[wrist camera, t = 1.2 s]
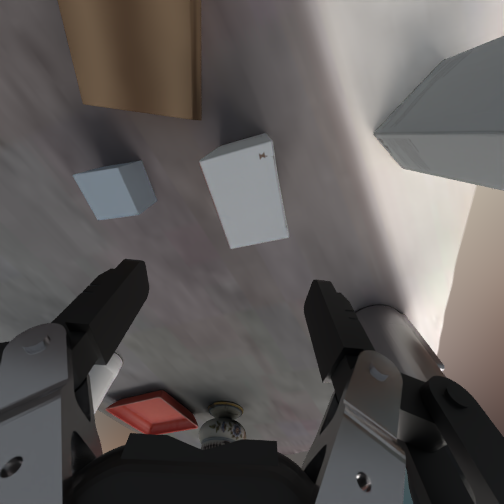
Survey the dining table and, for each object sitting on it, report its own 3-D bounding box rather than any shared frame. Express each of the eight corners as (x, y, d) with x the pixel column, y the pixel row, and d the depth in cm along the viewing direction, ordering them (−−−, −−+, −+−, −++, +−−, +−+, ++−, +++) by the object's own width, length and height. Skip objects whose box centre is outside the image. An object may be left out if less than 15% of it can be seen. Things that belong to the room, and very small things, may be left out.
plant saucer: (110, 396, 57) (103, 410, 54) (164, 383, 53) (159, 398, 50) (153, 423, 65) (148, 436, 62) (202, 413, 61) (199, 428, 58)
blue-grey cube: (141, 160, 25) (117, 167, 21) (157, 200, 28) (138, 214, 23) (103, 166, 26) (72, 175, 21) (122, 205, 28) (98, 220, 24)
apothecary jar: (218, 394, 54) (203, 501, 39) (255, 408, 57) (254, 512, 42) (196, 410, 59) (174, 511, 44) (231, 422, 63) (222, 519, 47)
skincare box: (400, 168, 25) (550, 215, 12) (368, 131, 23) (507, 140, 10) (476, 99, 21) (805, 63, 8) (447, 49, 19) (811, -95, 7)
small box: (219, 145, 24) (195, 158, 15) (267, 131, 23) (272, 136, 14) (238, 210, 28) (228, 251, 19) (279, 201, 27) (290, 239, 18)
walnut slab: (201, -55, 17) (187, -101, 13) (202, 120, 23) (192, 119, 20) (73, -78, 16) (25, -131, 13) (109, 107, 23) (83, 104, 19)
